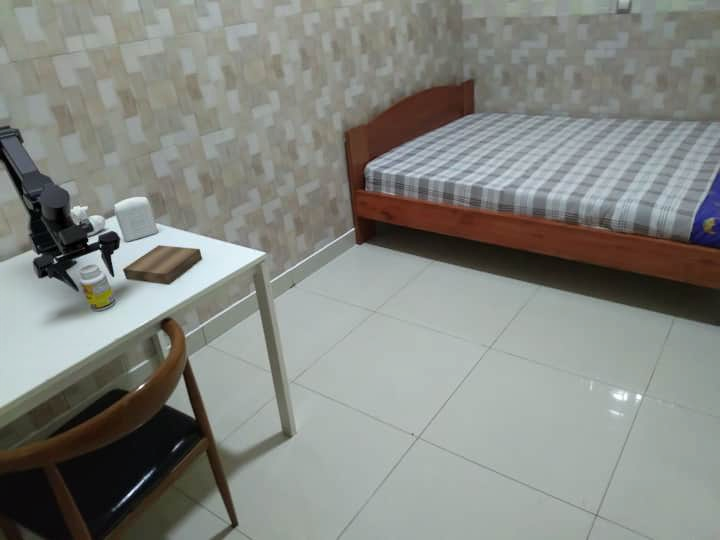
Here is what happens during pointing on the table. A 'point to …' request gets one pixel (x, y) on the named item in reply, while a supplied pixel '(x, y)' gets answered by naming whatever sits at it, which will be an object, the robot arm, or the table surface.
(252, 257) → the table surface
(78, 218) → the bust
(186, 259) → the walnut stand
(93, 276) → the supplement bottle
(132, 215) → the photo printer
